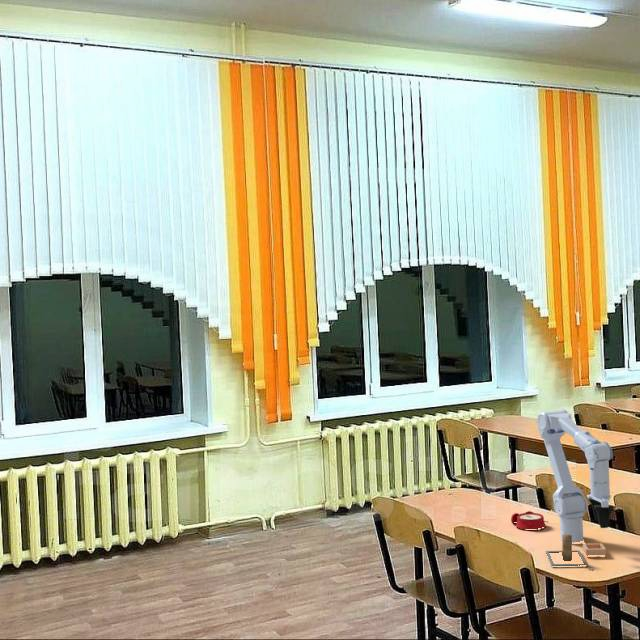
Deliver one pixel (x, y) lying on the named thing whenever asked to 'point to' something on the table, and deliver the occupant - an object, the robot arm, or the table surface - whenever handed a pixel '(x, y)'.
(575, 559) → the table surface
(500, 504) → the table surface
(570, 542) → the dowel
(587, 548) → the wooden block with hole
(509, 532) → the table surface
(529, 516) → the alarm clock
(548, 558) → the grey rectangular frame
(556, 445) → the robot arm
